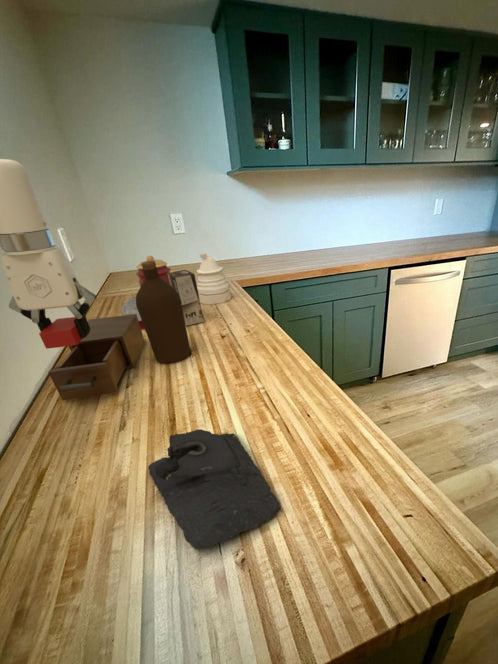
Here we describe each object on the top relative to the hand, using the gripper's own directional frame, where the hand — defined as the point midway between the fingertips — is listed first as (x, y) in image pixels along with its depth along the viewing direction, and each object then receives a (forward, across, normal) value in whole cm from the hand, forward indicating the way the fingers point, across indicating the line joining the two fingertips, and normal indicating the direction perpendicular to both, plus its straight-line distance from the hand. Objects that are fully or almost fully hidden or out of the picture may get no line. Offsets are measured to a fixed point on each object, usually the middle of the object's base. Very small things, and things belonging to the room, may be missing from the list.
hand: (68, 336), depth 68 cm
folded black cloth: (+15, +27, -32) cm, 45 cm away
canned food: (+15, 0, +46) cm, 49 cm away
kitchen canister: (+15, +3, +73) cm, 75 cm away
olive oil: (+15, +15, +18) cm, 28 cm away
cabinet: (+15, -1, +21) cm, 26 cm away
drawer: (+14, -1, +6) cm, 15 cm away
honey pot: (+15, +25, +67) cm, 73 cm away
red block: (0, 0, 0) cm, 0 cm away
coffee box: (+15, +17, +45) cm, 50 cm away
